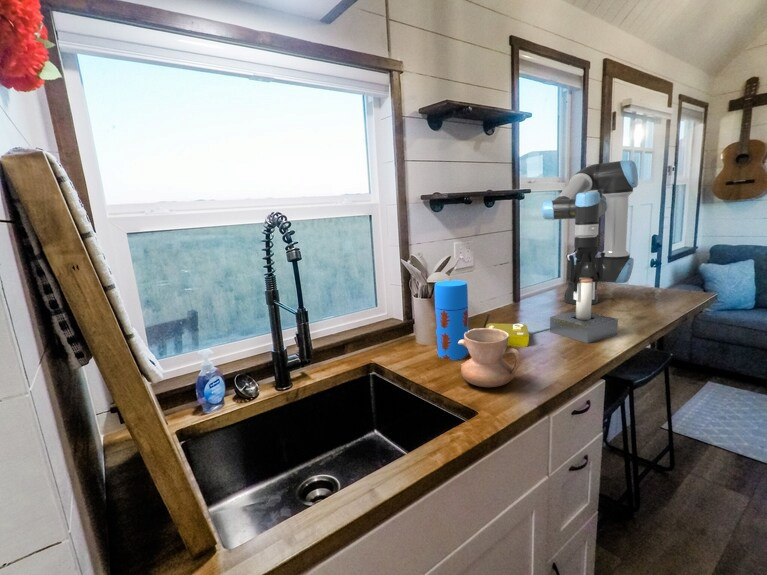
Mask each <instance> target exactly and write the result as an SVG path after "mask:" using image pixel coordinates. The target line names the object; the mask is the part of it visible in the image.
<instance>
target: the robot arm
mask: <svg viewBox="0 0 767 575" xmlns="http://www.w3.org/2000/svg"><path fill="white" fill-rule="evenodd" d="M638 175H639V174H638V168H637V165H636V162H635V161H633V160H630V159H629V160H619V161H612V162H609V161H608V162H603V163H602V162H601V163H595V164H591V165H588V166H586V167H584V168H582V169H579V171H577V172H575V174H573V175H572V177H570V178H569V182H568V185H566V186H565V187H564V189H563V190H562V191H561V192H560V193H559V194H558V195H557V197H555V199H553V200H552V199H550V200H546V201H544V202H543V204H542V206H541V216H542V217H543V219H544V220H552V221H553V220H554V221H555V220H573V219H574V236H575V237H574V239H573V240H574V244H573V245H574V251H572V252H573V253H571V254H566V255H565V258H566V261H567V265H566V266H567V267H566V273H567V274H566V281H567V287H566V290H565V293H564V295H563V302H564V303H567V304H569V305H571V304H572V305H576V300H577V301H580V283H578V281H579V278H592V301H591V305H596V304H598V302H599V296H598V294H597V289H598V287H597V285H598V283H609V284H612V283H614V284H626V283H628V282H629V280H630V279H631V275H632V273H633V268H634V261H635V259H634V258H633V257H630V256H631V253H630V252H629V251H628V250H627V239H628V238H627V236H628V234H627V233H628V218H629V217H628V213H629V198H630V197H629V196H631V194H633V192H634V189H636V188H637V187H638V185H639V177H638ZM599 191H602V192H601V195H602V196H603V197H605V199H604V198H602V197H601V195H600V192H599ZM603 215H604V217H605V218H604V240H603V242H604V243H603V244H604V246H603V251H599V250H598V246H599V237H598V235H599V226H600V225H599V223H600V222H599V220H600V218H601V217H602V216H603Z"/></svg>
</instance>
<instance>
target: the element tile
mask: <svg viewBox="0 0 767 575" xmlns="http://www.w3.org/2000/svg"><path fill="white" fill-rule="evenodd" d="M485 328H492V329H499V330H502V331H505V332H507V333H508V334H509V340H508V345H507V347H512V348H514V347H515V348H517V347H519V348H525V347H529V345H530V339H529V338H530V335H529V334H528V328H527V326H526V325H525V324H517V323H491V322H490V323H487V325H486V327H485Z"/></svg>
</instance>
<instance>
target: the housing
mask: <svg viewBox="0 0 767 575" xmlns="http://www.w3.org/2000/svg"><path fill="white" fill-rule="evenodd" d="M618 323H619V319H618V318H616V317H611V316H606V315H602V314H597V313H594V312H591V319H590V320H579V319H576V310H575V311H574V310H573V311H569V312H564V313H561V314H557V315H553V316H550V317H549V327H550V330H549V332H550V333H552V334H555V335H559V336H562V337H566V338H568V339H571V340H574V341H577V342H582V343H584V344H590V343H593V342H597V341H600V340H603V338H604V339H606V337H607V338H610V336H611V337H614V336H617V335H618V328H619V327H618V325H619V324H618ZM613 335H614V336H613Z"/></svg>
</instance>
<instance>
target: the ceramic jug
mask: <svg viewBox="0 0 767 575" xmlns="http://www.w3.org/2000/svg"><path fill="white" fill-rule="evenodd" d="M464 339H465V340H459V342H458V344H460V345H464V346H465V347H466V348H468V354H469V356H470V358H469V359H467V360H466V361H464V362H463V363H461V364H460V367H461V368H460V373H461V376H462V377H463V379H464V380H465V381H466V382H467V383H469V384H470V385H474V386H476V387H480V388H481V387H482V388H497V387H502V386H504V385H507V384H508V383H510V382H511V381H512V380H513V379H514V378H515V375H516V372H517V371H518V369H519V368H520V366H521V363H522V362H521V361H522V356H521V353H520V352H519V350H518V349H516V348H514V347H508V346H507V345H508V340H509V334H508V333H507V332H505V331H502V330H499V329H492V328H486V327H485V328H483V327H481V328H473V329H470V330H469V329H468V332H466V333H465V334H464ZM507 354H513V355H514V357H515V363H514V366H513V367H512V365H511V364H510V363H508V362H507V360H504V359H503V357H504V356H506V355H507Z"/></svg>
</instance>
